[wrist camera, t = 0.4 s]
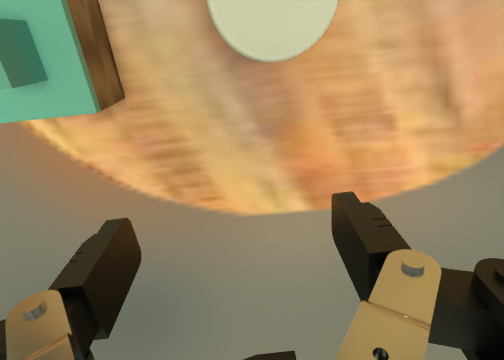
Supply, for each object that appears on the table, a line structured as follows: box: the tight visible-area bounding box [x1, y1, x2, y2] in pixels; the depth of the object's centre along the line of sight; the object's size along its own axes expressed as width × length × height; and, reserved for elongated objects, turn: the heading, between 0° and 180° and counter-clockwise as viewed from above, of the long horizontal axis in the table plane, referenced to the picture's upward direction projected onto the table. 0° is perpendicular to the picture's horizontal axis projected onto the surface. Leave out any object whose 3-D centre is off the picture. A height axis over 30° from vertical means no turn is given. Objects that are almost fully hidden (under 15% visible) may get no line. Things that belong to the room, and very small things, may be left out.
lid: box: [0, 0, 101, 123], centre depth 26 cm, size 12×10×7 cm
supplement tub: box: [207, 0, 339, 62], centre depth 27 cm, size 10×10×15 cm
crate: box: [66, 0, 125, 111], centre depth 31 cm, size 12×10×7 cm
